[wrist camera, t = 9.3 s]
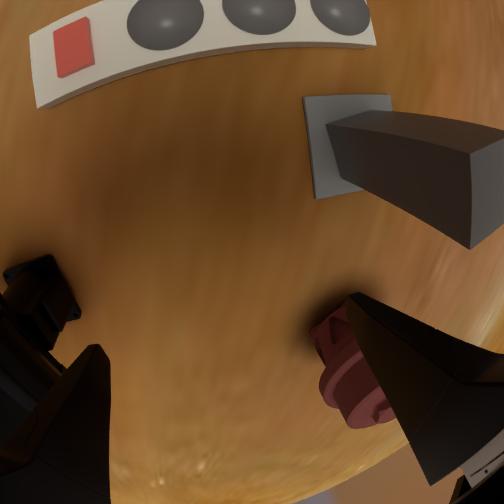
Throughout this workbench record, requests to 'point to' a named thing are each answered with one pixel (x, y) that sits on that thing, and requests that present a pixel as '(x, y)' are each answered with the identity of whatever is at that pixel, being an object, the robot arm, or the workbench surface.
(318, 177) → the mat
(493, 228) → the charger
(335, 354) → the mechanical component
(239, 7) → the power strip
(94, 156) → the workbench surface
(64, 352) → the workbench surface
